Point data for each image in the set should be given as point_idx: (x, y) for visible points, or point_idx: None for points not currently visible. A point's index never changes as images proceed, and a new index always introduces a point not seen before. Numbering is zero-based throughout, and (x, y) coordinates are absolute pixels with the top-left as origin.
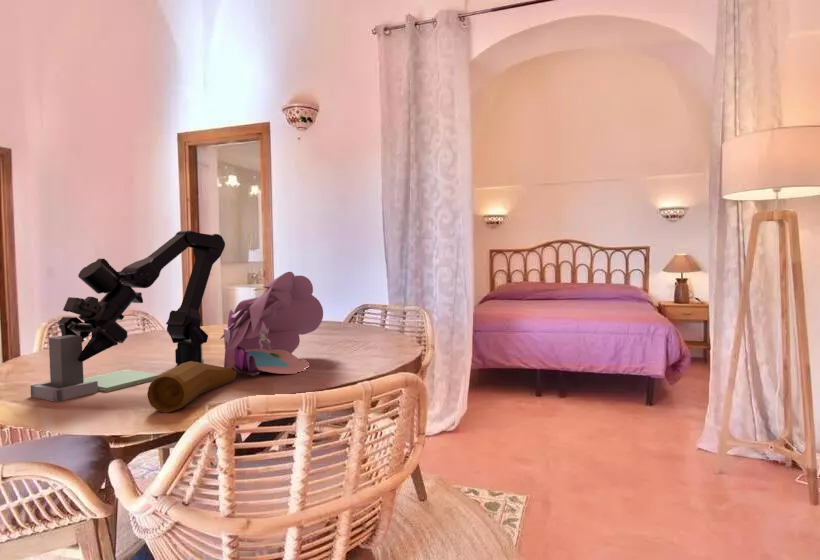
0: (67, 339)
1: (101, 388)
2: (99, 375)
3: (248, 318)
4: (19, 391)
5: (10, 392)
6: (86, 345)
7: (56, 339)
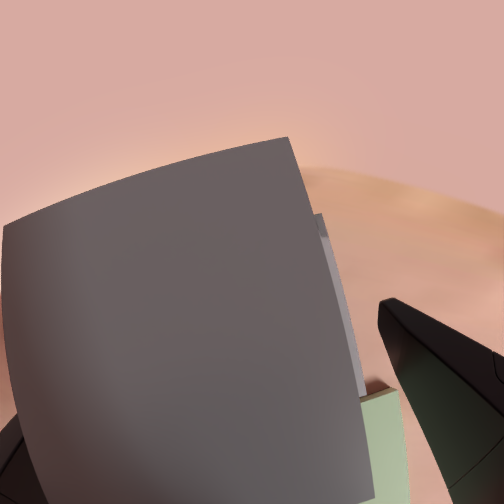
0: (16, 319)
1: None
2: (400, 492)
3: None
4: (434, 225)
5: (437, 202)
6: (16, 439)
7: (75, 200)
